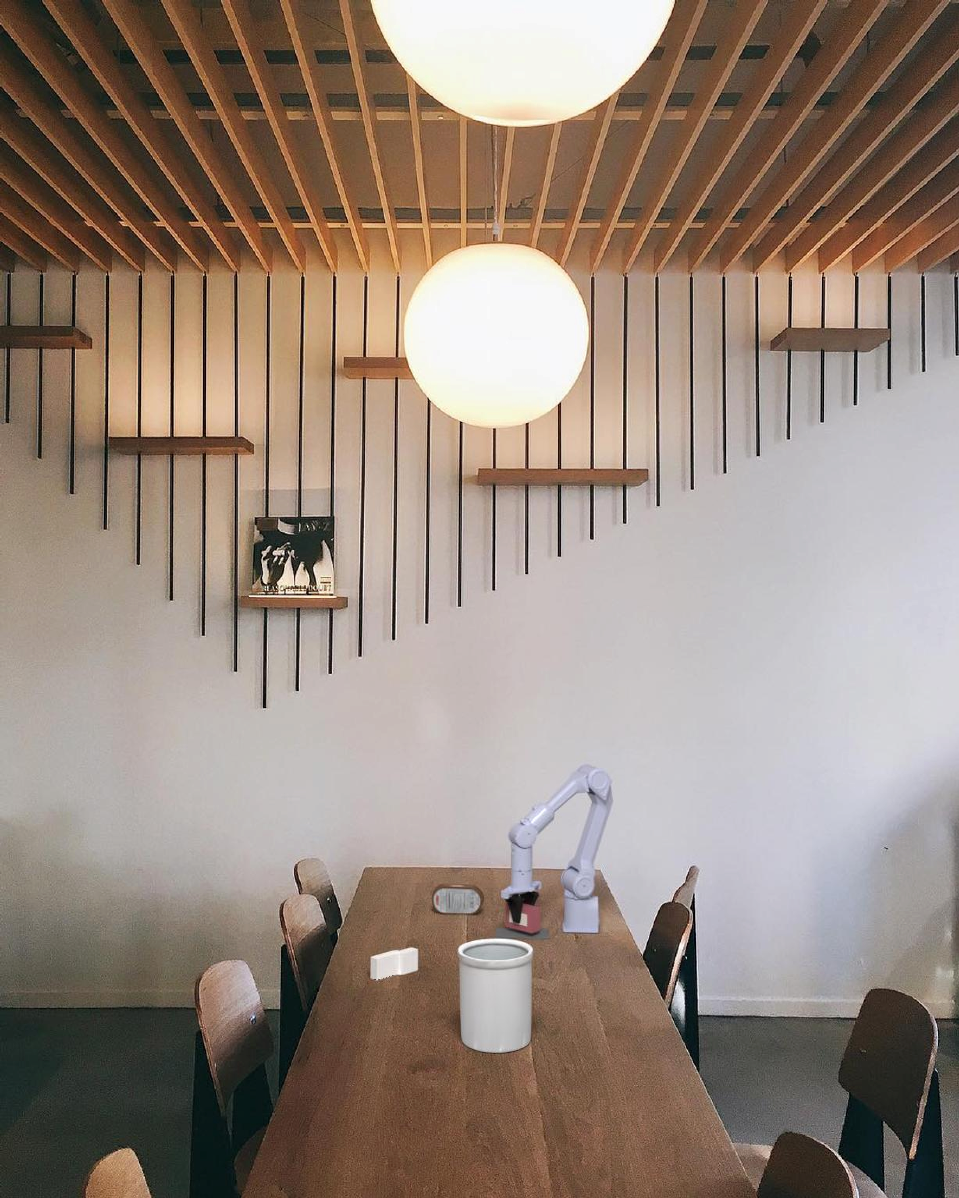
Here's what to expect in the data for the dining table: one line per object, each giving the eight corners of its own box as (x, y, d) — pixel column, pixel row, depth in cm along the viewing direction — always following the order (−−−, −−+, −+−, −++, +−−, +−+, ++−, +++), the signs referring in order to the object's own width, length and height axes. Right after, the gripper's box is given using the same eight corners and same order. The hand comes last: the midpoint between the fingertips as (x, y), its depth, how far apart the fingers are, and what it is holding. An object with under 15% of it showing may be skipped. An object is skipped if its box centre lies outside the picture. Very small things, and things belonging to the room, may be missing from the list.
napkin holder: (364, 985, 222) (364, 960, 222) (365, 969, 233) (365, 944, 233) (430, 983, 223) (430, 958, 224) (427, 967, 235) (428, 943, 235)
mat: (548, 930, 263) (548, 928, 263) (547, 939, 255) (547, 937, 255) (496, 928, 264) (496, 927, 264) (494, 937, 256) (494, 936, 256)
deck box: (514, 923, 264) (514, 901, 264) (539, 930, 258) (539, 907, 258) (505, 926, 261) (505, 903, 261) (530, 933, 255) (531, 910, 255)
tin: (484, 913, 280) (484, 883, 280) (483, 916, 277) (483, 886, 277) (432, 911, 281) (432, 882, 282) (430, 914, 278) (430, 884, 279)
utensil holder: (446, 1030, 195) (446, 942, 196) (513, 1019, 201) (513, 933, 202) (475, 1060, 181) (475, 964, 182) (546, 1047, 187) (546, 954, 188)
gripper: (515, 876, 252) (515, 929, 252) (550, 867, 263) (550, 918, 262) (495, 872, 257) (495, 924, 256) (530, 863, 268) (530, 913, 267)
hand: (521, 920), depth 260 cm, fingers closed on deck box, 4 cm apart
